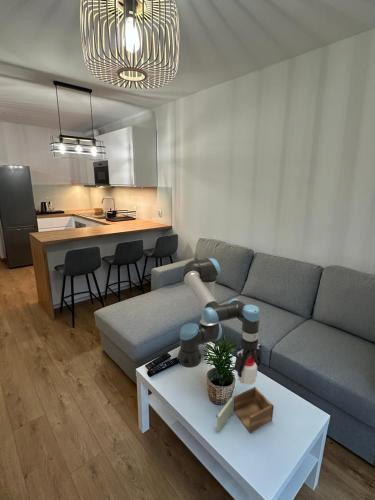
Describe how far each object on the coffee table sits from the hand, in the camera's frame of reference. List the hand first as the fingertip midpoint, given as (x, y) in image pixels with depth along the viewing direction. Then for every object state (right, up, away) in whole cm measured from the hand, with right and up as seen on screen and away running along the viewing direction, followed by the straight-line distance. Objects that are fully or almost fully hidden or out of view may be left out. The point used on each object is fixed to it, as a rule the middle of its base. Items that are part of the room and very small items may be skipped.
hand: (247, 378), depth 128 cm
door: (-12, -19, -2) cm, 23 cm away
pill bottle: (0, 0, 0) cm, 0 cm away
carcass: (+2, -19, +1) cm, 19 cm away
